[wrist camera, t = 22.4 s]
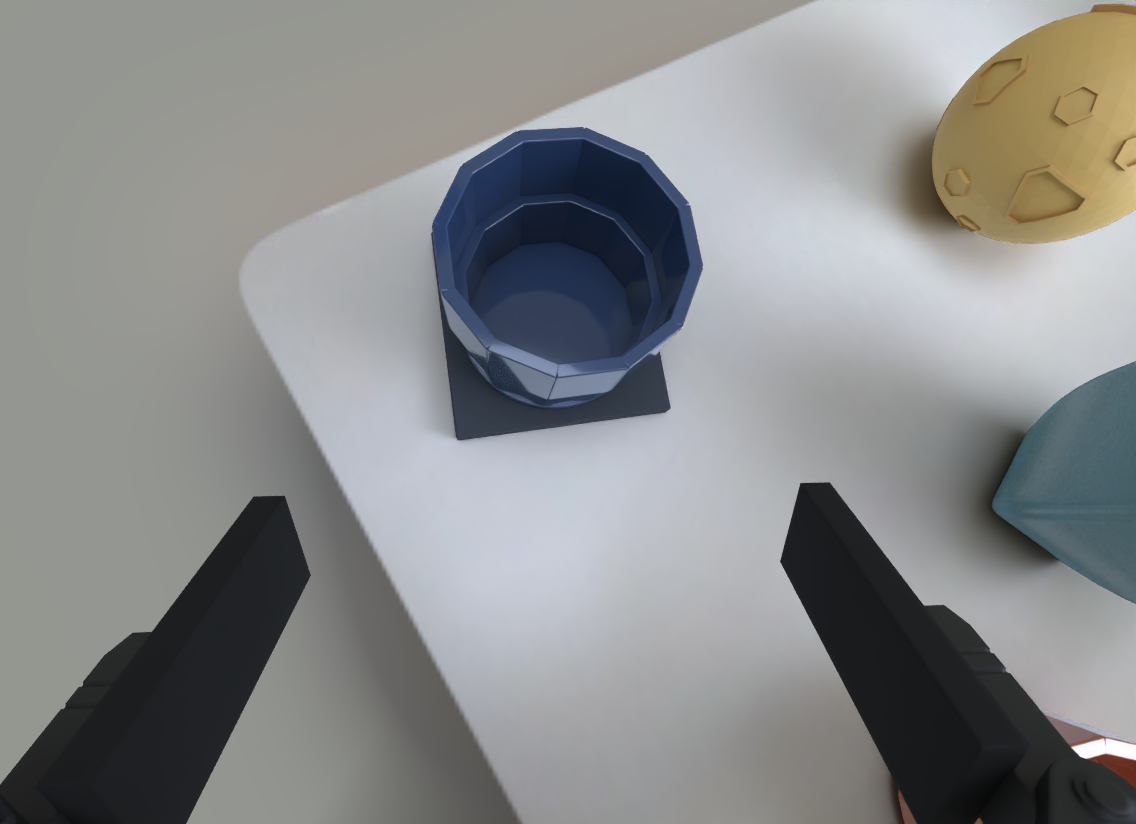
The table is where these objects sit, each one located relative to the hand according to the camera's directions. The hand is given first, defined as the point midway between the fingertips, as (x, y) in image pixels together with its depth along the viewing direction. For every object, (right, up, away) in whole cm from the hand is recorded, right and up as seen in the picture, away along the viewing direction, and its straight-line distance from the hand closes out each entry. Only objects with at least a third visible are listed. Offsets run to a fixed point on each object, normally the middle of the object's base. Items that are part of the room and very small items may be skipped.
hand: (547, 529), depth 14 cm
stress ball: (+23, +15, +17) cm, 33 cm away
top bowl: (0, +7, +11) cm, 13 cm away
